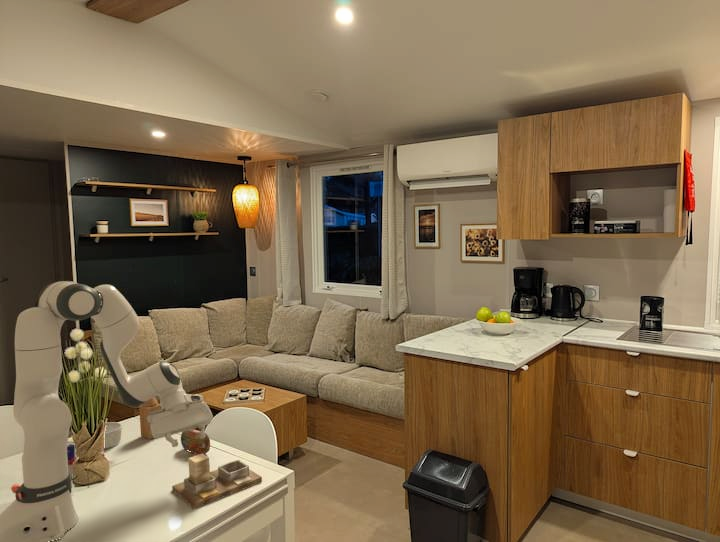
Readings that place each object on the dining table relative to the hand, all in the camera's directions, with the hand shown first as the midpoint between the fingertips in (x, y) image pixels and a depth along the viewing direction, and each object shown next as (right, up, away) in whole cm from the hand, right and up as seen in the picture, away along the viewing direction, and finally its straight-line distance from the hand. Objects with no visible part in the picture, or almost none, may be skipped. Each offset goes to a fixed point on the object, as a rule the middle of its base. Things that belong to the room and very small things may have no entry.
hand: (189, 441), depth 167 cm
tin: (-7, -14, +28) cm, 32 cm away
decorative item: (-31, -13, +45) cm, 56 cm away
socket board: (+9, -15, +1) cm, 17 cm away
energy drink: (-45, -16, +9) cm, 49 cm away
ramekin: (-47, -14, +37) cm, 62 cm away
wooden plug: (+5, -14, -3) cm, 15 cm away
